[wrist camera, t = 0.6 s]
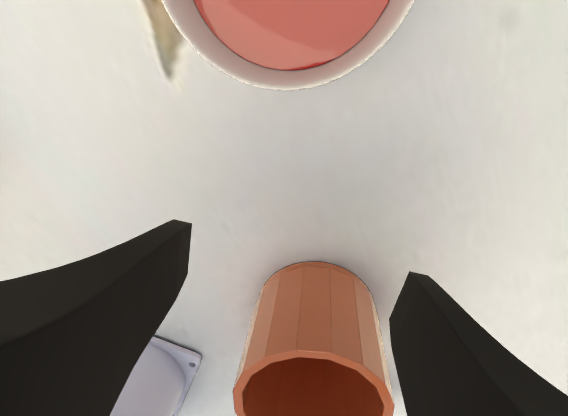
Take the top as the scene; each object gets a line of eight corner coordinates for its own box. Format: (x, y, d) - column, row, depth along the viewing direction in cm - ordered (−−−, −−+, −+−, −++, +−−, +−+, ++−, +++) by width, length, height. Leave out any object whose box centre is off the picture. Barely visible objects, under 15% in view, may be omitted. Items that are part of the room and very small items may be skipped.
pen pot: (342, 366, 27) (347, 474, 20) (242, 328, 26) (214, 426, 20) (397, 289, 24) (425, 389, 17) (283, 243, 23) (265, 327, 16)
